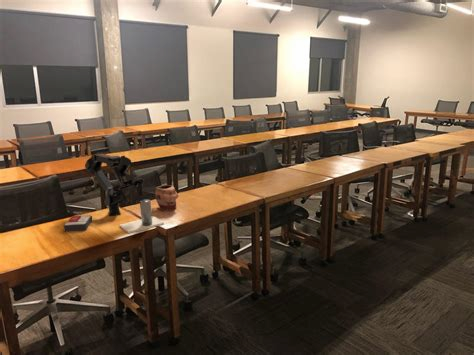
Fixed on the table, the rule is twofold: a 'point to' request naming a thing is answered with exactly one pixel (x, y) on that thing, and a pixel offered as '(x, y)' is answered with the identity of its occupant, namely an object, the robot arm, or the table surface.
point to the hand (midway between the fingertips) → (134, 199)
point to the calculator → (78, 223)
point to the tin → (146, 212)
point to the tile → (140, 225)
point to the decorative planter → (166, 197)
